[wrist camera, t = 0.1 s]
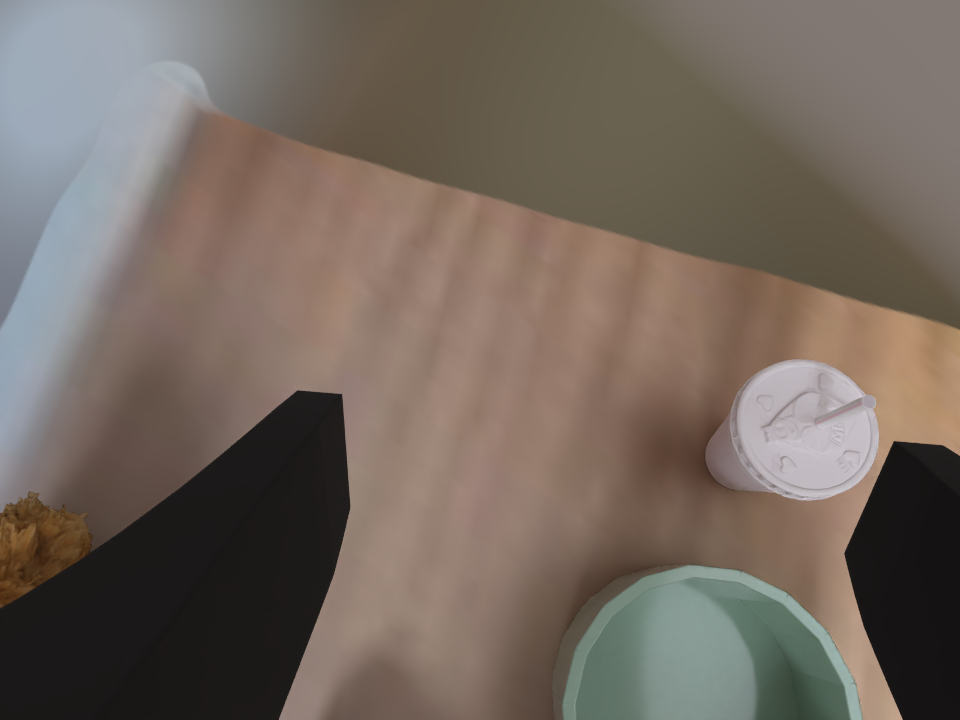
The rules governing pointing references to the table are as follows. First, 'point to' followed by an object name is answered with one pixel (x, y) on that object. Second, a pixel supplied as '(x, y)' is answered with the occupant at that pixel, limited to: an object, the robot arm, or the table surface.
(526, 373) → the table surface
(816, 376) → the smoothie
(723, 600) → the crock
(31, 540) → the stuffed squirrel
